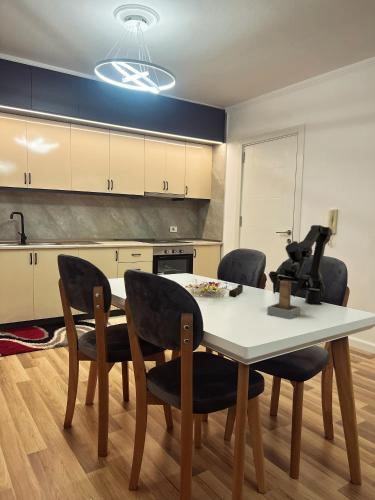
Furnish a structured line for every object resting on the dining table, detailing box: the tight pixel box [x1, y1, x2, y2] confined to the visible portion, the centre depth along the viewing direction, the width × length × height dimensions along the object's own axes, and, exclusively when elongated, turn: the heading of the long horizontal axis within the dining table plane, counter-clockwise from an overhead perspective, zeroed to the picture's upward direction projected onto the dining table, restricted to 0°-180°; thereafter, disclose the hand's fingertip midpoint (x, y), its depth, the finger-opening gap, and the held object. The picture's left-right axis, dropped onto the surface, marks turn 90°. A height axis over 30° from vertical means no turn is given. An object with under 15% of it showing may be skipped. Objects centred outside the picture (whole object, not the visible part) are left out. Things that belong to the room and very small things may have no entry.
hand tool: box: [228, 283, 244, 298], centre depth 206 cm, size 19×4×5 cm, turn 154°
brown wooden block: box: [278, 280, 292, 310], centre depth 163 cm, size 4×4×14 cm
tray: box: [267, 302, 302, 320], centre depth 163 cm, size 10×10×4 cm
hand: (283, 294), depth 162 cm, fingers open, 9 cm apart
